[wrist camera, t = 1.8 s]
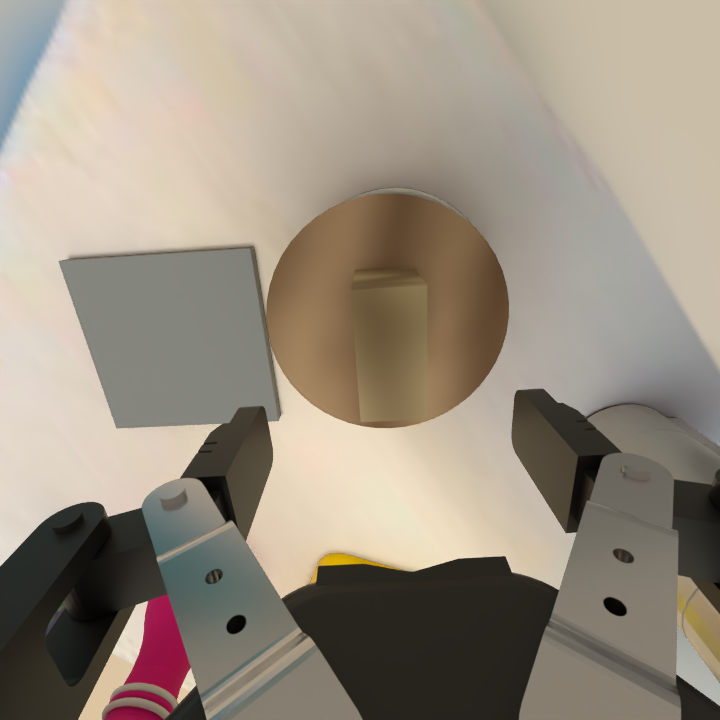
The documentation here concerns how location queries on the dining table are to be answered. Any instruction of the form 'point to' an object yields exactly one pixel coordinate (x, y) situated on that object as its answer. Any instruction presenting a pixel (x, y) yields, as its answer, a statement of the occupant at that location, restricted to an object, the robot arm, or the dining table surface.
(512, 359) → the dining table surface
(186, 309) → the mat
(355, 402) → the lid
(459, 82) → the dining table surface
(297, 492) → the dining table surface
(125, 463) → the dining table surface
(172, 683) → the pepper mill
